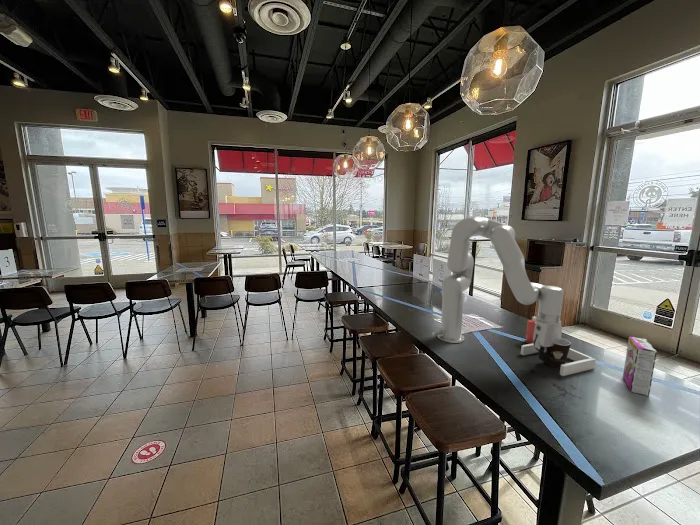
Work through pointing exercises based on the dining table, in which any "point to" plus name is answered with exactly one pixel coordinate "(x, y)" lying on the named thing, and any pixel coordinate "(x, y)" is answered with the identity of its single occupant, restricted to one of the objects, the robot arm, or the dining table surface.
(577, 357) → the open u-shaped frame
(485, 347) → the dining table surface
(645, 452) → the dining table surface
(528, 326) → the squeeze bottle
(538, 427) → the dining table surface
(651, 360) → the candy bar box
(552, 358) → the coffee mug
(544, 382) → the dining table surface
